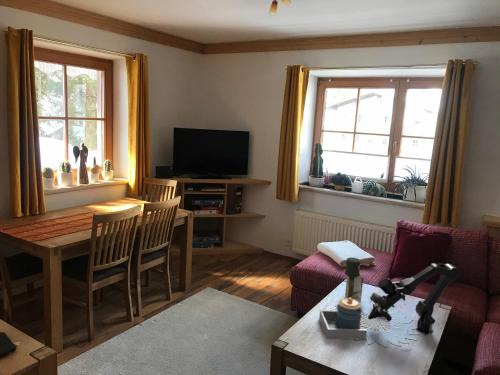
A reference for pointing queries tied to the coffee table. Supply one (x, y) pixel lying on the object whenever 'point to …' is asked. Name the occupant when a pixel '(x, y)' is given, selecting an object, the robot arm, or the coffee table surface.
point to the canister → (348, 314)
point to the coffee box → (355, 288)
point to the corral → (339, 333)
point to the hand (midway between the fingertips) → (368, 318)
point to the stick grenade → (352, 273)
